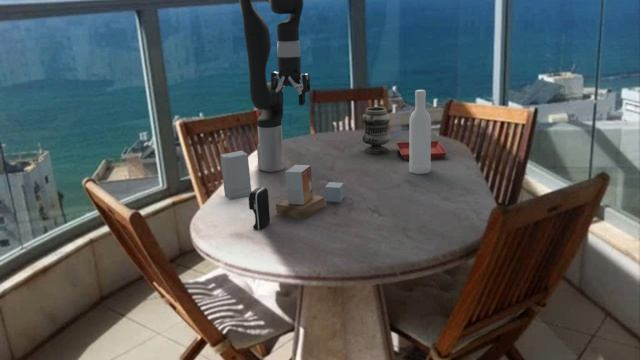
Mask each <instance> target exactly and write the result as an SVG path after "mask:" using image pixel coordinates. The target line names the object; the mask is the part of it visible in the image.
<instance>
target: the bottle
mask: <svg viewBox="0 0 640 360" xmlns="http://www.w3.org/2000/svg"><path fill="white" fill-rule="evenodd" d="M426 92H427V91H426V90H425V89H417V90H415V91H414V93H415V94H414V96H415V97H414V99H415V100H414V101H415V103H414V105H415V106H414V107H415V108H414V111H412V112H411V114H410V116H409V120H408V122H409V125H408V126H409V129H408V130H409V133H408V134H409V135H408V136H409V141H408V142H409V161H408V162H409V163H408V167H409V168H408V169H409V172H410V173H411V174H416V175H424V174H428V173H429V174H430V172H431V170H432V169H431V168H432V163H431V161H432V159H431V141H432V118H431V115H430V113H429V111H427V109H426V101H427V100H426V97H427V93H426Z"/></svg>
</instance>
